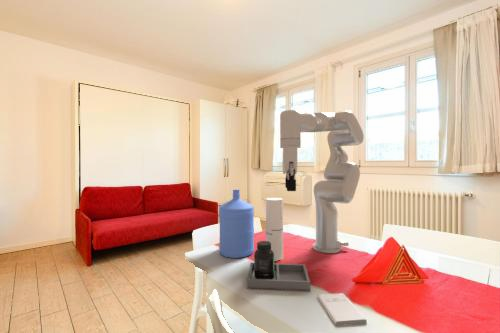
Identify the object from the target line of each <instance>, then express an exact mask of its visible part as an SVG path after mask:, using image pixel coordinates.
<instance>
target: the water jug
mask: <svg viewBox="0 0 500 333" xmlns="http://www.w3.org/2000/svg"><path fill="white" fill-rule="evenodd" d="M240 191H241V190H240V189H233V190H232V199H230V200H228V201H227V202H223V204H221V205H220V206H219V210H218V218H219V219H218V220H219V221H218V222H219V246H218V250H219V254H220V255H221V256H223V257H226V258H229V259H241V258H246V257H249V256H251V255H252V254H254V253H255V245H254V244H255V243H254V242H255V240H254V239H255V238H254V235H255V225H254V221H255V220H254V214H255V212H254V211H255V210H254V205H253V204H251V203H249V202H247V201H245V200H243V199H241V197H240V195H241V194H240Z"/></svg>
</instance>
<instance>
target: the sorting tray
mask: <svg viewBox="0 0 500 333" xmlns="http://www.w3.org/2000/svg"><path fill="white" fill-rule="evenodd" d="M246 285H247V286H246V289H249V290H262V291H263V290H266V291H267V290H269V291H287V292H288V291H289V292H311V280H310V277H309V273H308V270H307V267H306V264H304V263H303V264H301V263H275V262H274V278H273V279H256V278H255V275H254V262H250V264H249V268H248V273H247V279H246Z"/></svg>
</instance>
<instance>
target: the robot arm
mask: <svg viewBox="0 0 500 333" xmlns="http://www.w3.org/2000/svg"><path fill="white" fill-rule="evenodd" d="M279 119H280V120H279V125H280V126H279V127H280V129H279V130H280V131H279V132H280V134H279V135H280V136H279V139H280V140H279V144H280V145H279V146H280V147H279V148H280V149H282V174H283V175H285V178H284V179H285V183H284V185H285V186H284V187H285V189H286V191H287V192H296V191H297V180H296V174H297V173H298V149H301V144H302V143H301V133H322V132H328V134H327V138H326V139H327V140H326V141H327V143H328V144H327V145H328V147H329V152H330V154H329V157H328V161H327V163H326V165H325V168H324V170H323V177H324V179H325V180H319V181H317V182H316V183H315V184H314V186H313V195H314V200H315V242H314V243H313V244H312V249H313V250H314V251H316V252H319V253H323V254H337V253H339V252H341V250H342V248H341V247H349V245H350V244H349V242H348V241H344V240H343V239H342V240H339V239H338V209H337V207H336V204H335V203H338V204H349V203H351V202H352V201H353V199H354V197H355V194H356V191H357V187H358V184H359V180H360V177H361V176H360V175H361V170H360V166H359V165H358V163H356V162H348V160H349V156H348V153H347V152H346V150H344V148H343V147H347V146H350V147H351V146H359V145H361V144H362V143H363V142H364V138H365V137H364V136H365V135H364V131H363V129H362V126H361V124H360V122H359V121H358V119H357V117H356V115H355V114H354V113H353V112H352V111H351V110H343V111H335V112H323V111H321V112H320V111H319V112H318V111H317V112H311V111H299V110H296V109H286V110H283V111H281V112H280V115H279Z"/></svg>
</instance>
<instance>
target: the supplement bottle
mask: <svg viewBox="0 0 500 333" xmlns="http://www.w3.org/2000/svg"><path fill="white" fill-rule="evenodd" d="M253 254H254V255H253V257H254V260H253V263H254V275H255V278H256V279H273V278H274V263H275V261H274V252H273V251H272V250H271V243H270V242H269V241H266V240H260V241H258V242H257V243H256V250H254V252H253Z"/></svg>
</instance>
